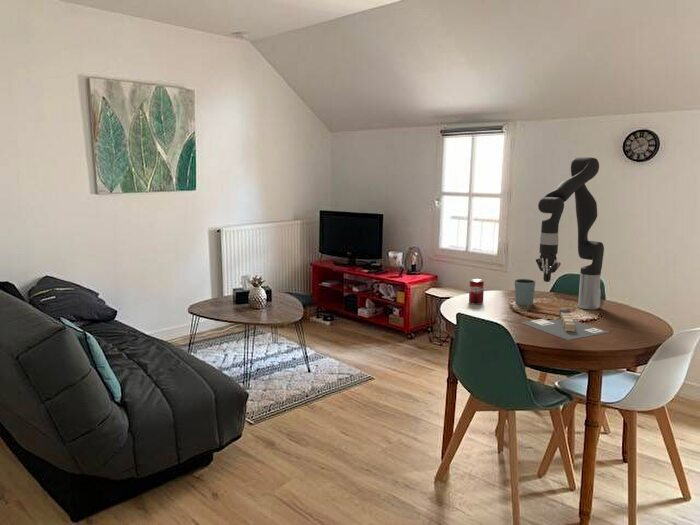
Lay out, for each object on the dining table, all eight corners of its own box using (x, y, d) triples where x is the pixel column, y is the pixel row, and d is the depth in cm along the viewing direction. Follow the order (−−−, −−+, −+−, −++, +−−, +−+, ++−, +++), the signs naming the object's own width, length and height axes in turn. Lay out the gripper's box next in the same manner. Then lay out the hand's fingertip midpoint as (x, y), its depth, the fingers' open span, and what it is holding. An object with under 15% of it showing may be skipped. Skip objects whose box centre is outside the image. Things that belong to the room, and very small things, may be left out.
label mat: (560, 316, 253) (560, 315, 253) (610, 332, 228) (610, 331, 228) (519, 322, 243) (519, 322, 243) (567, 340, 218) (567, 339, 218)
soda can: (483, 305, 274) (484, 282, 272) (468, 304, 276) (469, 281, 274) (482, 301, 281) (483, 279, 279) (468, 301, 283) (469, 278, 281)
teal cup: (537, 306, 271) (538, 282, 269) (516, 306, 271) (517, 283, 269) (530, 301, 281) (531, 278, 279) (511, 301, 281) (512, 278, 279)
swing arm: (558, 316, 250) (559, 307, 250) (568, 316, 249) (569, 308, 249) (564, 330, 228) (565, 321, 228) (575, 331, 227) (576, 322, 227)
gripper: (567, 244, 231) (564, 283, 234) (544, 240, 243) (542, 278, 246) (554, 245, 228) (551, 285, 231) (531, 241, 240) (529, 279, 243)
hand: (546, 281), depth 239 cm, fingers closed
